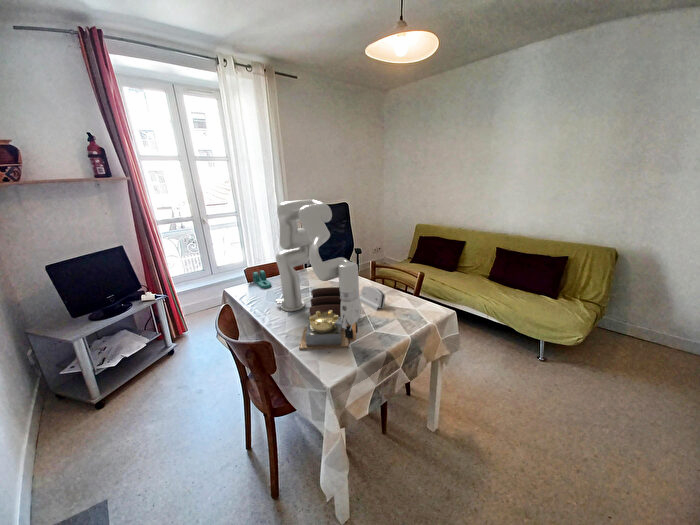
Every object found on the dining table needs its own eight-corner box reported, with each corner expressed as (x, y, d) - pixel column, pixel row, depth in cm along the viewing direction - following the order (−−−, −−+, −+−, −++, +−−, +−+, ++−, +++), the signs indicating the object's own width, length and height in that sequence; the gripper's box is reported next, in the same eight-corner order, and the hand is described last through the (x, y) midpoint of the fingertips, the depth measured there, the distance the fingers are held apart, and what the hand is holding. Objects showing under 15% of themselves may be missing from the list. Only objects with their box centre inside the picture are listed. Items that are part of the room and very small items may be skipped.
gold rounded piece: (305, 335, 116) (303, 319, 114) (320, 322, 127) (319, 306, 124) (348, 347, 107) (347, 329, 105) (362, 332, 117) (361, 315, 115)
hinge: (356, 300, 154) (361, 282, 154) (363, 300, 157) (367, 283, 156) (376, 310, 141) (381, 291, 141) (383, 310, 144) (387, 292, 143)
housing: (299, 349, 112) (297, 336, 110) (305, 329, 127) (303, 317, 126) (348, 347, 112) (347, 334, 110) (348, 327, 127) (347, 315, 125)
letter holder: (314, 312, 143) (311, 287, 139) (352, 311, 142) (351, 286, 138) (310, 322, 134) (307, 295, 130) (351, 321, 133) (350, 294, 128)
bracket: (253, 282, 189) (251, 271, 187) (263, 279, 193) (261, 269, 190) (262, 290, 175) (261, 278, 173) (273, 287, 179) (271, 275, 176)
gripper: (349, 304, 98) (351, 348, 104) (366, 287, 113) (367, 326, 118) (330, 301, 102) (333, 344, 107) (349, 284, 116) (351, 323, 121)
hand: (351, 334), depth 112 cm, fingers closed on gold rounded piece, 3 cm apart
